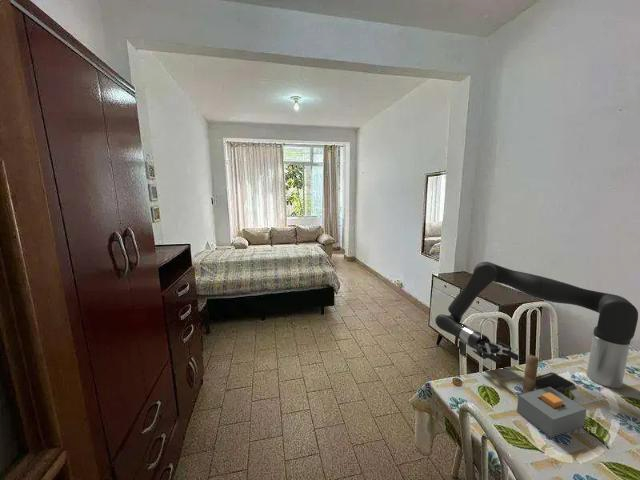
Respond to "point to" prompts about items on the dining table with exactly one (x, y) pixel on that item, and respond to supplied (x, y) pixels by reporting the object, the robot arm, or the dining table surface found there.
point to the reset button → (551, 400)
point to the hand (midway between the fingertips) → (509, 360)
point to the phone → (553, 382)
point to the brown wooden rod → (530, 374)
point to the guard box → (551, 412)
